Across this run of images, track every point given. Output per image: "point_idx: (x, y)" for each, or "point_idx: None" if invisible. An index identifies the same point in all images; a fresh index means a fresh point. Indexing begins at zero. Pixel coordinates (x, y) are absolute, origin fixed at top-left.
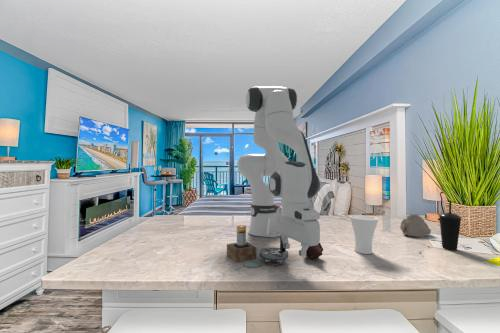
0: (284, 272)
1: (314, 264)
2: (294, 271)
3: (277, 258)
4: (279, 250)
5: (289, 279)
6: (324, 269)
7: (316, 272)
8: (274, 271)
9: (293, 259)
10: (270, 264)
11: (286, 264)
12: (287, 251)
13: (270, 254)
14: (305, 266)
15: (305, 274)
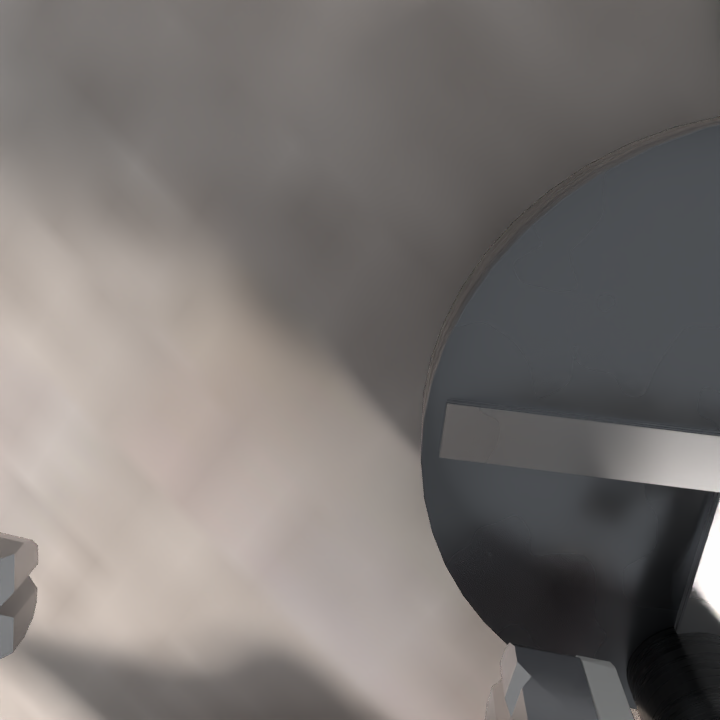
0: (245, 194)
1: (217, 716)
2: (189, 347)
3: (475, 287)
4: (706, 596)
5: (3, 54)
6: (38, 676)
7: None
8: (373, 81)
9: None
10: None
11: None
12: None
13: (706, 284)
14: (234, 592)
15: (32, 386)
